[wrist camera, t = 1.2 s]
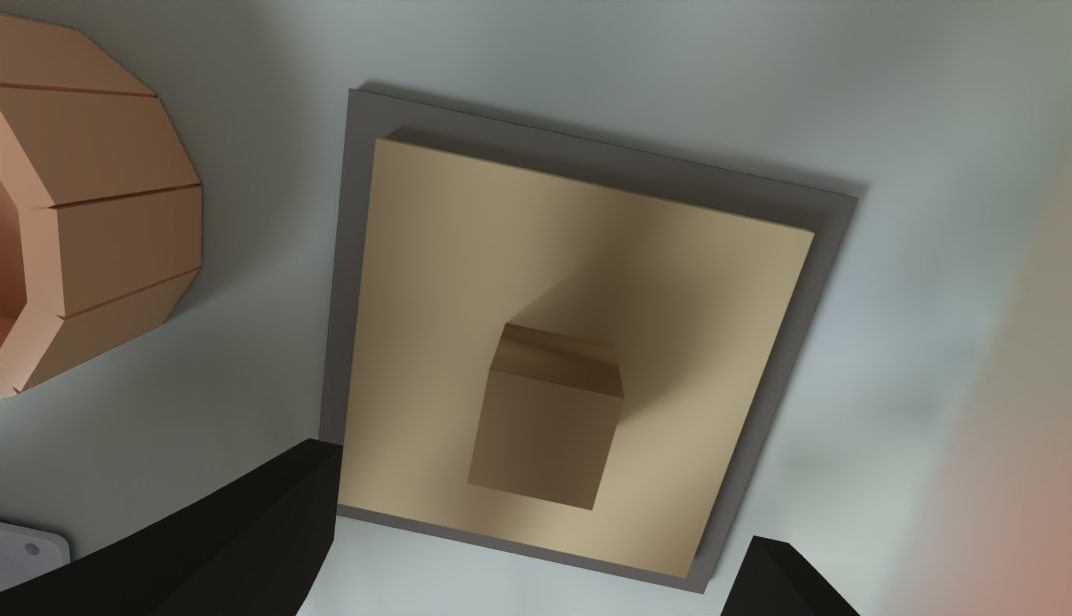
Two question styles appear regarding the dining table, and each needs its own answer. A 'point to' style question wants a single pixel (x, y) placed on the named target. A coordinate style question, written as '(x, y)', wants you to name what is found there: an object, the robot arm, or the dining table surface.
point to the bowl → (84, 204)
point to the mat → (601, 167)
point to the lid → (555, 355)
